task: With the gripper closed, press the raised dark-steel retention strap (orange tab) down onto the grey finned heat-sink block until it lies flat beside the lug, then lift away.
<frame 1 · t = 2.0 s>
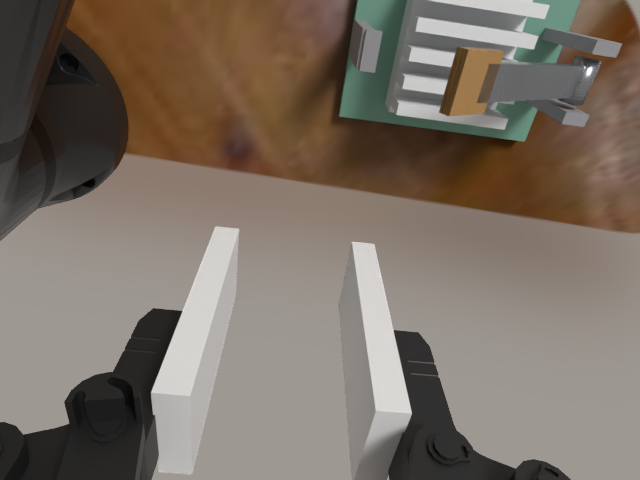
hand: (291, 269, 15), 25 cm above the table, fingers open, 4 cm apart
heatsink board: (451, 50, 34), on the table
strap: (528, 81, 26), point 10 cm above the table, hinge at 35.0°
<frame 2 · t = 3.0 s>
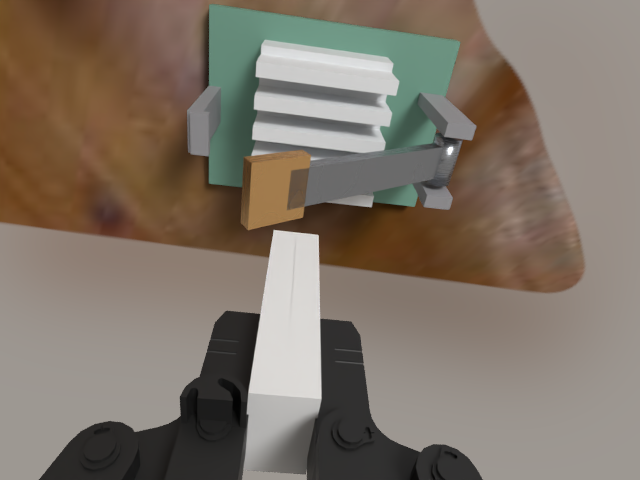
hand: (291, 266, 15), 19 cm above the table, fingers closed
heatsink board: (324, 114, 31), on the table
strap: (366, 173, 23), point 10 cm above the table, hinge at 35.0°
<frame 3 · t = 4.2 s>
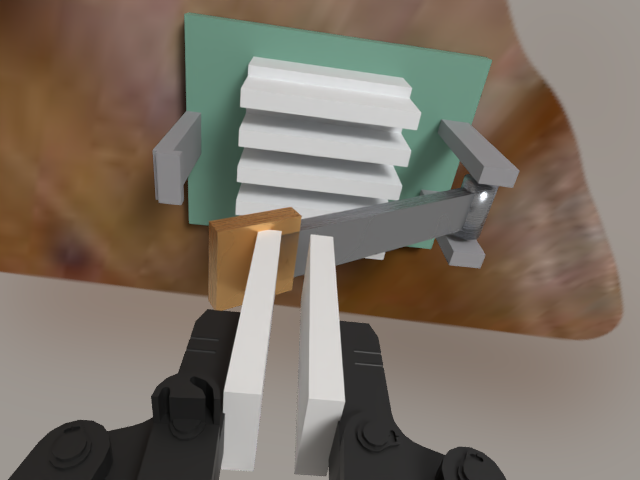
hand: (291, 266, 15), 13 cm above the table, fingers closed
heatsink board: (325, 143, 26), on the table
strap: (375, 229, 18), point 10 cm above the table, hinge at 32.1°, touching gripper
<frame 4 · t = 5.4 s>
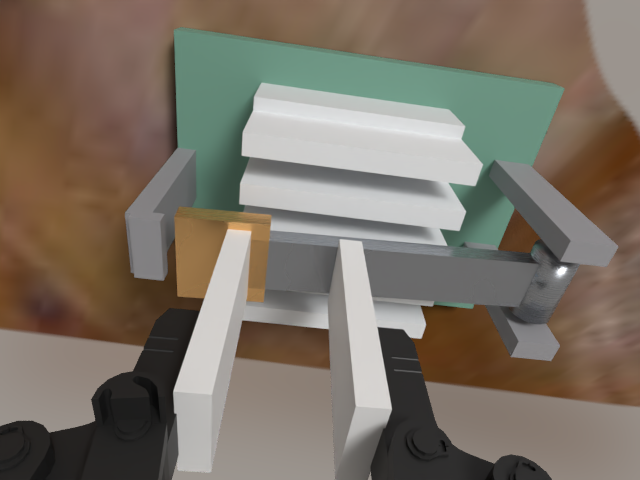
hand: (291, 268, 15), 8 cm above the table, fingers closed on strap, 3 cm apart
heatsink board: (348, 185, 21), on the table
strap: (380, 269, 16), point 7 cm above the table, hinge at 3.4°, touching gripper
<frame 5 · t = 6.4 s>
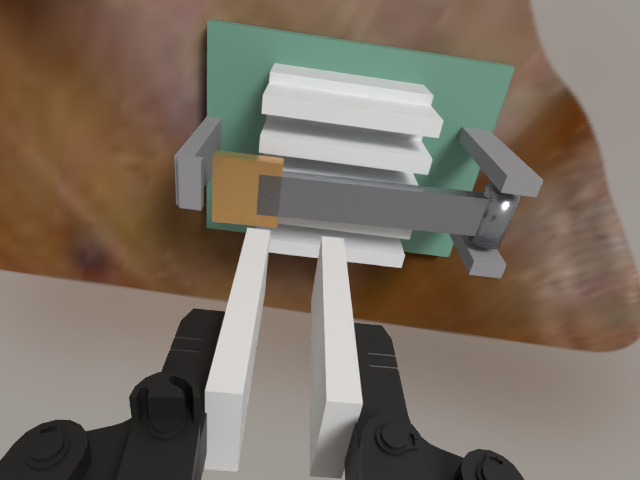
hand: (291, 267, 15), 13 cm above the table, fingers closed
heatsink board: (344, 150, 26), on the table
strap: (367, 202, 20), point 7 cm above the table, hinge at 3.0°
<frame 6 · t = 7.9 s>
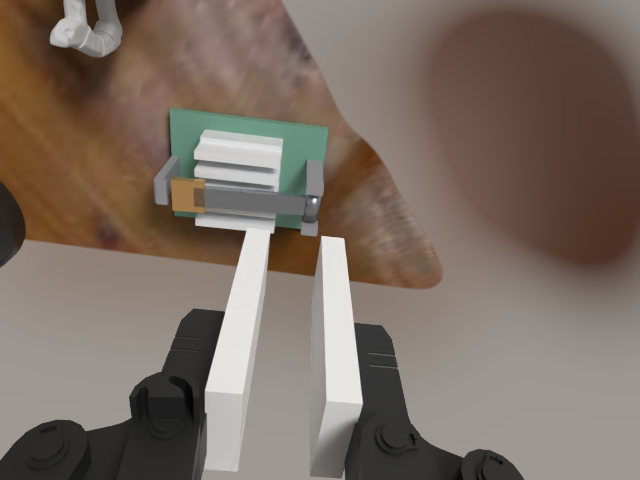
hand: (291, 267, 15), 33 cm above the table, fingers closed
heatsink board: (248, 171, 48), on the table
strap: (247, 200, 42), point 7 cm above the table, hinge at 3.0°
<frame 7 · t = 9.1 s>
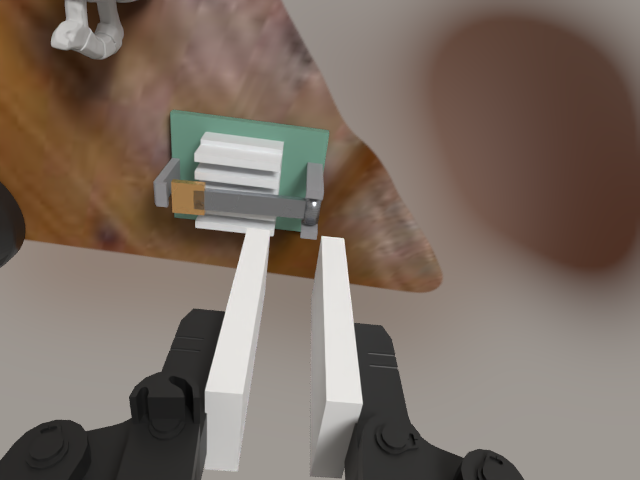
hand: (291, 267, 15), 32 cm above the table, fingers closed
heatsink board: (248, 173, 48), on the table
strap: (247, 203, 42), point 7 cm above the table, hinge at 3.0°
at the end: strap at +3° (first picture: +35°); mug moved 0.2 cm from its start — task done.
